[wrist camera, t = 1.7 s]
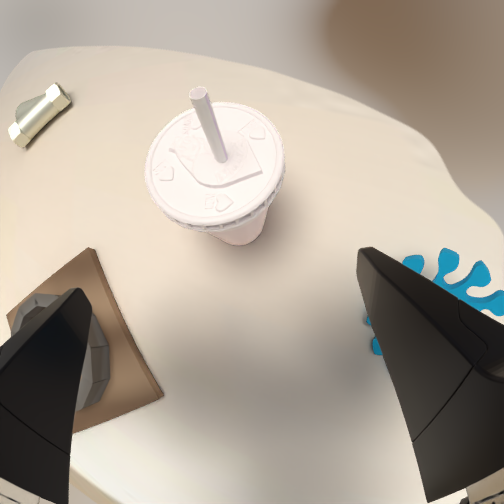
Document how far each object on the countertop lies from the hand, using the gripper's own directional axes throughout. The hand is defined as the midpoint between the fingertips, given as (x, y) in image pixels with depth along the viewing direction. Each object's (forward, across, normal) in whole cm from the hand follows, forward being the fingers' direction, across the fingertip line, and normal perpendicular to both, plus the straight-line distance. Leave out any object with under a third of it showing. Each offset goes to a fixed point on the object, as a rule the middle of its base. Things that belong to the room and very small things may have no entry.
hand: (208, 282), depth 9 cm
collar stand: (+6, +16, +11) cm, 20 cm away
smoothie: (+13, 0, +5) cm, 14 cm away
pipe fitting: (+26, +23, -8) cm, 35 cm away
